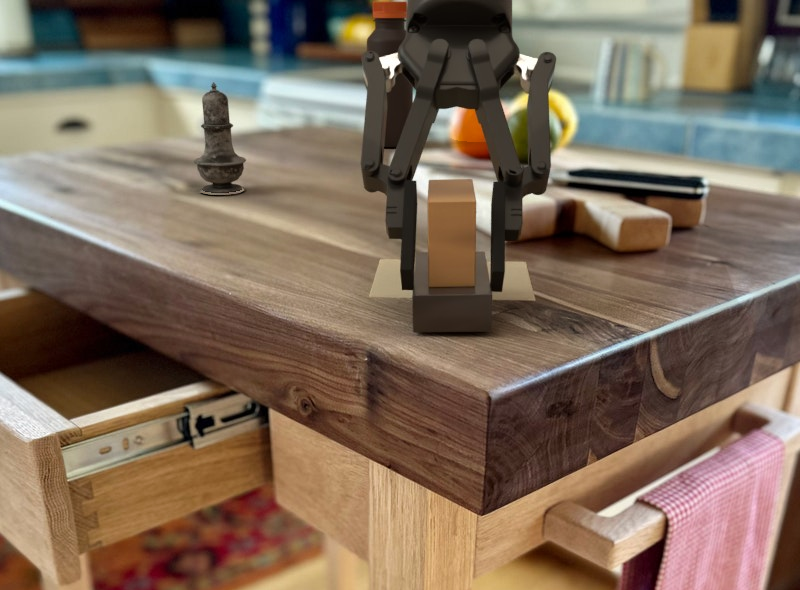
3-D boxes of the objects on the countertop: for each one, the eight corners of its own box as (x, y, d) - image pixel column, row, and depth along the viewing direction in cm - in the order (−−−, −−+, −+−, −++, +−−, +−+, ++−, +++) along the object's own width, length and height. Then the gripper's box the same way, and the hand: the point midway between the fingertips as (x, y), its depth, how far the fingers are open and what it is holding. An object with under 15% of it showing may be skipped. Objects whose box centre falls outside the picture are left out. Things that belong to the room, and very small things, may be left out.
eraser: (416, 285, 65) (414, 175, 61) (484, 284, 64) (486, 174, 61) (413, 332, 55) (410, 207, 52) (491, 331, 55) (494, 205, 52)
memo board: (525, 273, 72) (526, 261, 71) (534, 313, 63) (535, 300, 62) (380, 270, 72) (379, 258, 72) (368, 309, 63) (368, 296, 63)
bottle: (411, 149, 130) (412, 1, 122) (366, 148, 130) (363, 1, 122) (413, 142, 136) (414, 1, 128) (370, 141, 136) (368, 1, 128)
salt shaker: (223, 184, 105) (214, 79, 100) (258, 190, 102) (251, 81, 97) (186, 192, 101) (175, 82, 96) (222, 198, 98) (212, 85, 93)
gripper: (578, 33, 66) (586, 310, 58) (341, 32, 67) (318, 304, 59) (594, -49, 59) (607, 253, 51) (329, -49, 60) (301, 248, 52)
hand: (452, 280), depth 55 cm, fingers closed on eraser, 5 cm apart
